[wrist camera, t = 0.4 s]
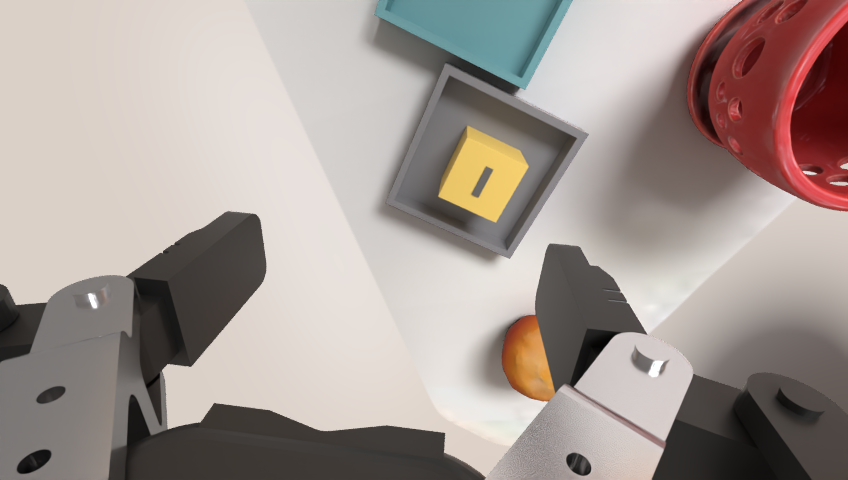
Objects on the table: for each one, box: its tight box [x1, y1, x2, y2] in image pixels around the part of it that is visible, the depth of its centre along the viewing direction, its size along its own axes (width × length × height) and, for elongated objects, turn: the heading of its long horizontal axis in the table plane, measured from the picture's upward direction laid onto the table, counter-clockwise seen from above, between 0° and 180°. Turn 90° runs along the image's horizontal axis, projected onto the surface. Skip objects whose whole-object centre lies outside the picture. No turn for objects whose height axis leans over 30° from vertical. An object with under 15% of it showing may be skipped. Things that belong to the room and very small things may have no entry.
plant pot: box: [687, 0, 848, 211], centre depth 25 cm, size 13×13×12 cm
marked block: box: [438, 125, 529, 223], centre depth 32 cm, size 5×5×5 cm
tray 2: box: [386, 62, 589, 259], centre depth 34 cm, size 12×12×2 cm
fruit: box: [502, 315, 555, 401], centre depth 40 cm, size 8×8×8 cm
